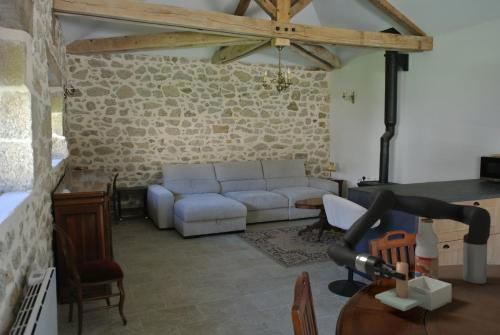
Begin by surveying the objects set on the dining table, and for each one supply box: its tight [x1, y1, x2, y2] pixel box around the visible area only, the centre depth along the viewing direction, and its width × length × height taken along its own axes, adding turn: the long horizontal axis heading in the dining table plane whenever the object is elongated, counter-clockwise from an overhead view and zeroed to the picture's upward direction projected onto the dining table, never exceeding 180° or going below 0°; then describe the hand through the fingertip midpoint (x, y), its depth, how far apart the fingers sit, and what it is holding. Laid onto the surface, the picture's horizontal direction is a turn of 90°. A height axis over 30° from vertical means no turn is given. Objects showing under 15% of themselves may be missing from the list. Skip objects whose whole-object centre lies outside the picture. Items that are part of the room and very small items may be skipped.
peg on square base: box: [374, 261, 429, 312], centre depth 141 cm, size 14×12×14 cm
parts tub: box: [408, 276, 453, 312], centre depth 150 cm, size 14×12×7 cm
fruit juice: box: [414, 218, 439, 280], centre depth 171 cm, size 9×9×28 cm
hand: (409, 276), depth 138 cm, fingers closed on peg on square base, 4 cm apart
